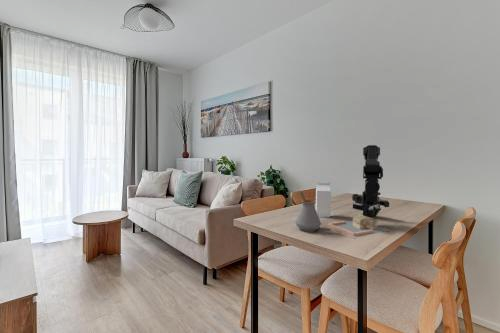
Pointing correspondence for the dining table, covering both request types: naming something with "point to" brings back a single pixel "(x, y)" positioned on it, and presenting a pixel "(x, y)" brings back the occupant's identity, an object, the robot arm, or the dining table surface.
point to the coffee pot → (308, 216)
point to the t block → (364, 222)
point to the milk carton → (323, 199)
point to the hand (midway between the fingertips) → (370, 222)
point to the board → (354, 228)
